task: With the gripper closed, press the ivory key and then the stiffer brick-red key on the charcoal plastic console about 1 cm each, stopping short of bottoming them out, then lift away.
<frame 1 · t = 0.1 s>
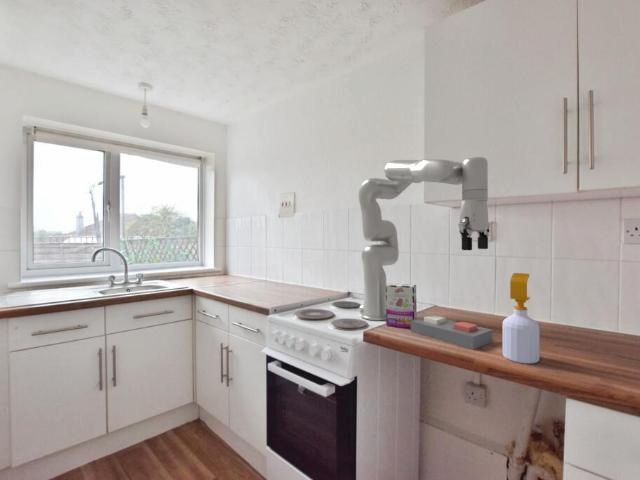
hand: (475, 249, 107), 31 cm above the countertop, tool pointing down, fingers open, 9 cm apart
ivory key: (434, 320, 121), point 4 cm above the countertop, slide at 0.0 cm
candy bar box: (401, 326, 130), on the countertop
soap bottle: (520, 358, 96), on the countertop
brick-red key: (465, 327, 111), point 4 cm above the countertop, slide at 0.0 cm
key console: (449, 336, 116), on the countertop
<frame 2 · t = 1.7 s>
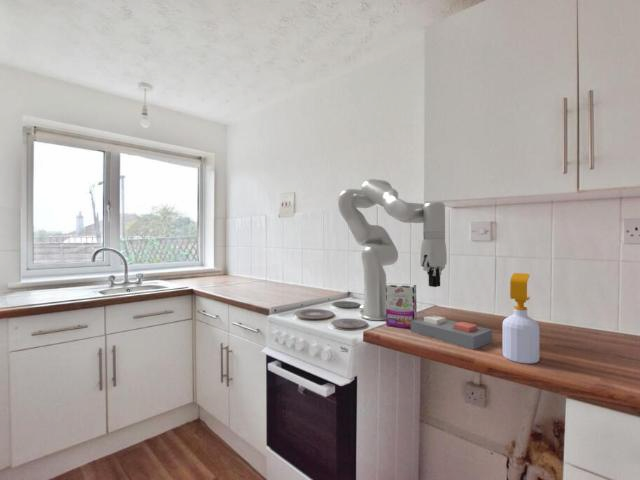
hand: (434, 286, 121), 17 cm above the countertop, tool pointing down, fingers closed
nothing on the countertop moved.
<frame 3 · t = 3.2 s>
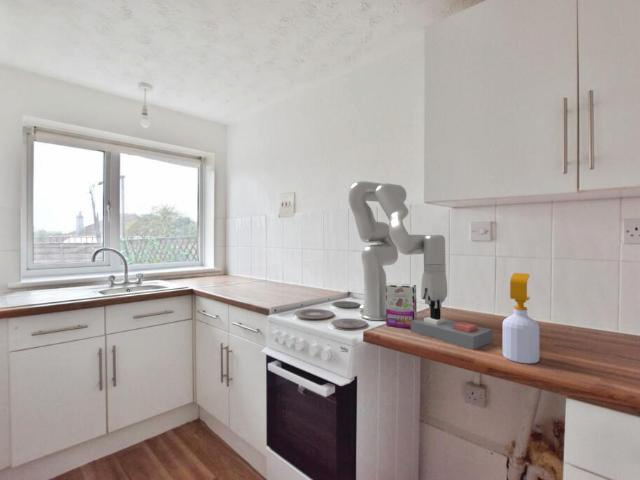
hand: (435, 318, 121), 5 cm above the countertop, tool pointing down, fingers closed
ivory key: (434, 321, 121), point 4 cm above the countertop, slide at 0.4 cm, touching gripper
everything else where it was.
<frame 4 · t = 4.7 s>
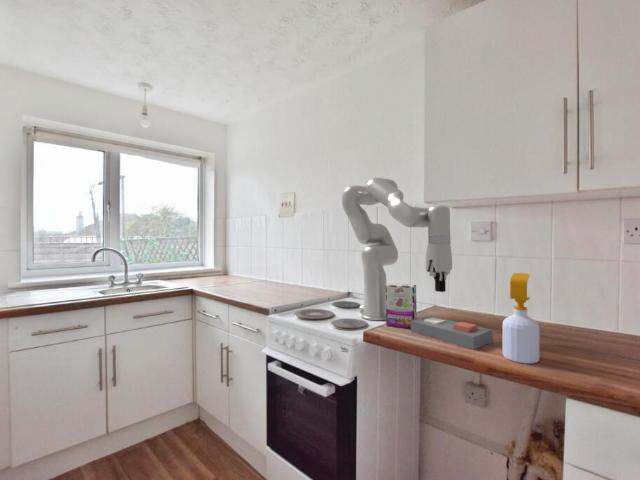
hand: (440, 291, 119), 15 cm above the countertop, tool pointing down, fingers closed
ivory key: (434, 323, 121), point 3 cm above the countertop, slide at 1.0 cm
everything else where it was.
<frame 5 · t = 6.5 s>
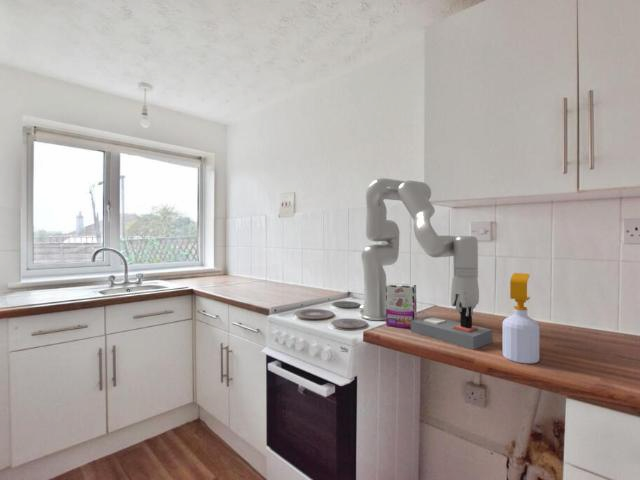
hand: (466, 326, 111), 5 cm above the countertop, tool pointing down, fingers closed
brick-red key: (465, 330, 111), point 4 cm above the countertop, slide at 0.8 cm, touching gripper
everything else where it was.
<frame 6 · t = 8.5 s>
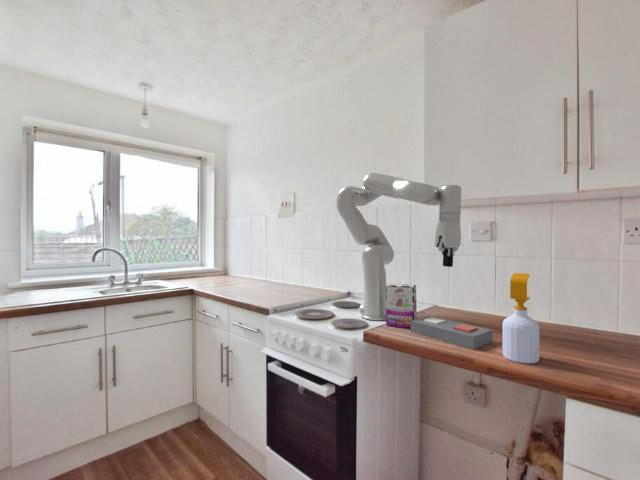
hand: (447, 266, 125), 24 cm above the countertop, tool pointing down, fingers closed
brick-red key: (465, 330, 111), point 3 cm above the countertop, slide at 0.9 cm
everything else where it was.
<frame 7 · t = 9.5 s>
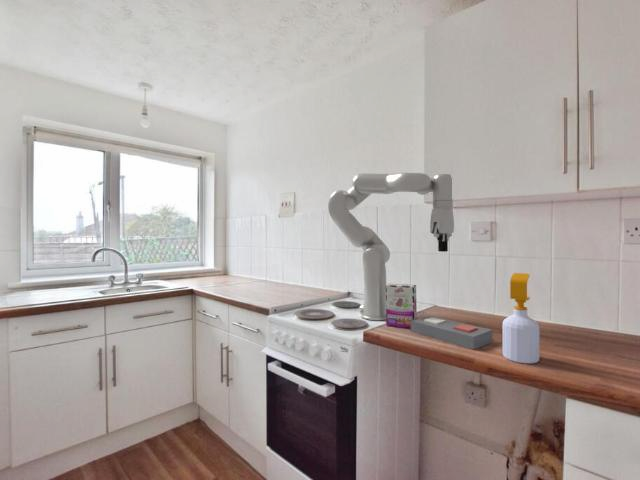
hand: (442, 251, 132), 29 cm above the countertop, tool pointing down, fingers closed
nothing on the countertop moved.
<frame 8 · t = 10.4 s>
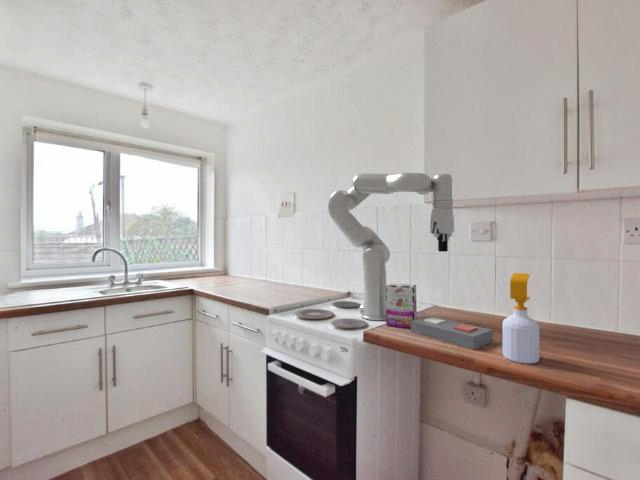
hand: (442, 251, 132), 29 cm above the countertop, tool pointing down, fingers closed
nothing on the countertop moved.
at the end: ivory key slide at 1.0 cm; brick-red key slide at 0.9 cm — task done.
